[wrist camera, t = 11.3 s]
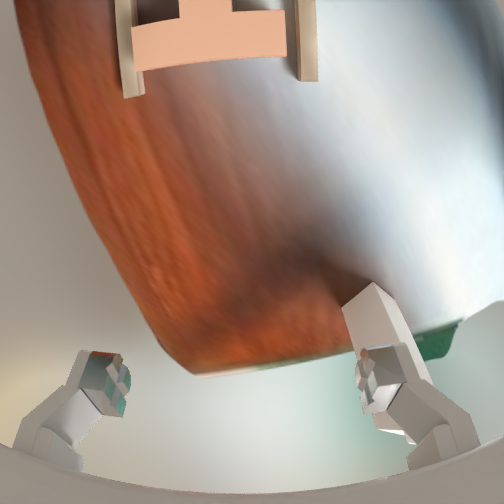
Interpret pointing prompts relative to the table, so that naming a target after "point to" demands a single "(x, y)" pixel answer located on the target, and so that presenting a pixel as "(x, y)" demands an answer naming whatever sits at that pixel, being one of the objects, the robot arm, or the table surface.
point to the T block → (209, 35)
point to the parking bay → (135, 80)
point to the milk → (380, 336)
